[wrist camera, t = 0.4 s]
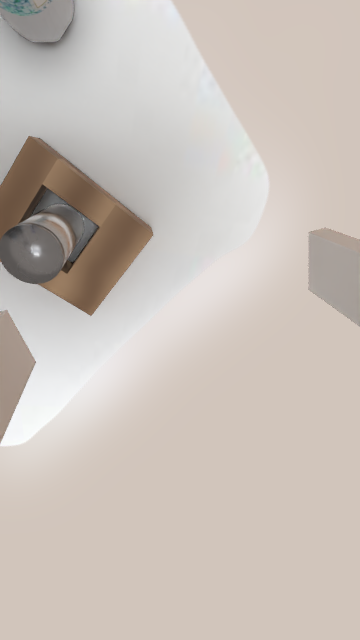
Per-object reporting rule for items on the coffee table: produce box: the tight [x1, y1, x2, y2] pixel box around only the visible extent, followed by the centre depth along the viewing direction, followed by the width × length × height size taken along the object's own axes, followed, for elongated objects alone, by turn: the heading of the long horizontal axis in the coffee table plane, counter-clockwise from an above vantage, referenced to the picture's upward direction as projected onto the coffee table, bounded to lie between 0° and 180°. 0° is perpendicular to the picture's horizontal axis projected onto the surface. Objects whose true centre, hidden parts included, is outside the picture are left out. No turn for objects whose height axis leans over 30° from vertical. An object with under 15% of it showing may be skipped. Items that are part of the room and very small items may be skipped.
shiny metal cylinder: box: [0, 204, 84, 284], centre depth 29 cm, size 5×5×13 cm
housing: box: [0, 136, 153, 315], centre depth 33 cm, size 14×12×4 cm
